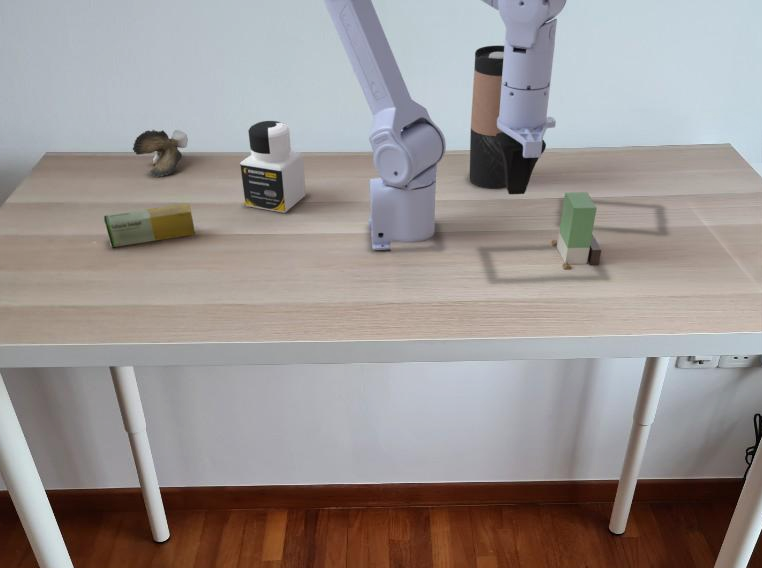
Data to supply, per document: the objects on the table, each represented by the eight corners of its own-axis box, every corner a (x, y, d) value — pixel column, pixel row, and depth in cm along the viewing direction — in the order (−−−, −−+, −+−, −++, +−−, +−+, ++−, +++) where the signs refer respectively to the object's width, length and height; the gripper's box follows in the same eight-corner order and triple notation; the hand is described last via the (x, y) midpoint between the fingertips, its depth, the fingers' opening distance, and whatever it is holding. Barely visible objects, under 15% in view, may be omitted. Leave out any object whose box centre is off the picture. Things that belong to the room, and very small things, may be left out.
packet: (573, 208, 103) (597, 207, 103) (564, 192, 107) (587, 191, 107) (564, 264, 108) (587, 263, 108) (556, 246, 112) (578, 246, 112)
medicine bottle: (244, 206, 125) (234, 129, 118) (267, 189, 130) (259, 114, 123) (285, 214, 123) (277, 136, 115) (306, 196, 128) (300, 120, 121)
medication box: (111, 249, 114) (104, 224, 111) (109, 239, 116) (102, 214, 113) (196, 235, 117) (191, 210, 114) (193, 225, 119) (188, 201, 116)
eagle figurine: (142, 149, 141) (123, 159, 133) (160, 114, 138) (141, 121, 130) (181, 174, 143) (164, 185, 135) (199, 140, 140) (183, 149, 132)
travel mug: (522, 177, 134) (534, 49, 121) (501, 193, 129) (512, 61, 116) (481, 167, 137) (489, 42, 125) (459, 182, 132) (465, 54, 120)
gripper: (573, 101, 90) (558, 215, 98) (546, 64, 101) (535, 169, 109) (510, 103, 89) (501, 217, 98) (490, 66, 101) (484, 170, 109)
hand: (515, 192), depth 104 cm, fingers closed
